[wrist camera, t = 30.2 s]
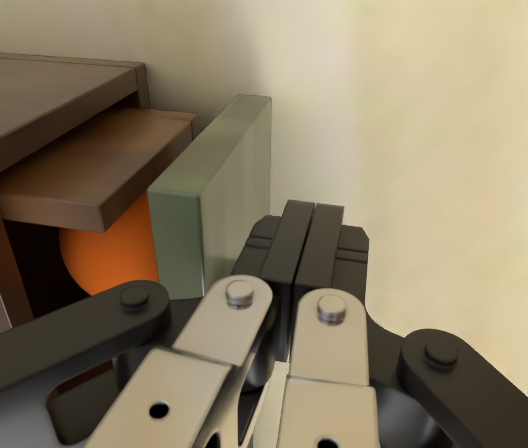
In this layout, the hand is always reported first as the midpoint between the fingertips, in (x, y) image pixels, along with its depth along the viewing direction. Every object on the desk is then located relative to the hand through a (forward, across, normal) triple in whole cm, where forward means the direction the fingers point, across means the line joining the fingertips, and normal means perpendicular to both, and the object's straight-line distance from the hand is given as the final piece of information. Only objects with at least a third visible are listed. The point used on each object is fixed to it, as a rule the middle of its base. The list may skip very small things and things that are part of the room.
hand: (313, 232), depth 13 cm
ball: (+1, +6, +2) cm, 6 cm away
